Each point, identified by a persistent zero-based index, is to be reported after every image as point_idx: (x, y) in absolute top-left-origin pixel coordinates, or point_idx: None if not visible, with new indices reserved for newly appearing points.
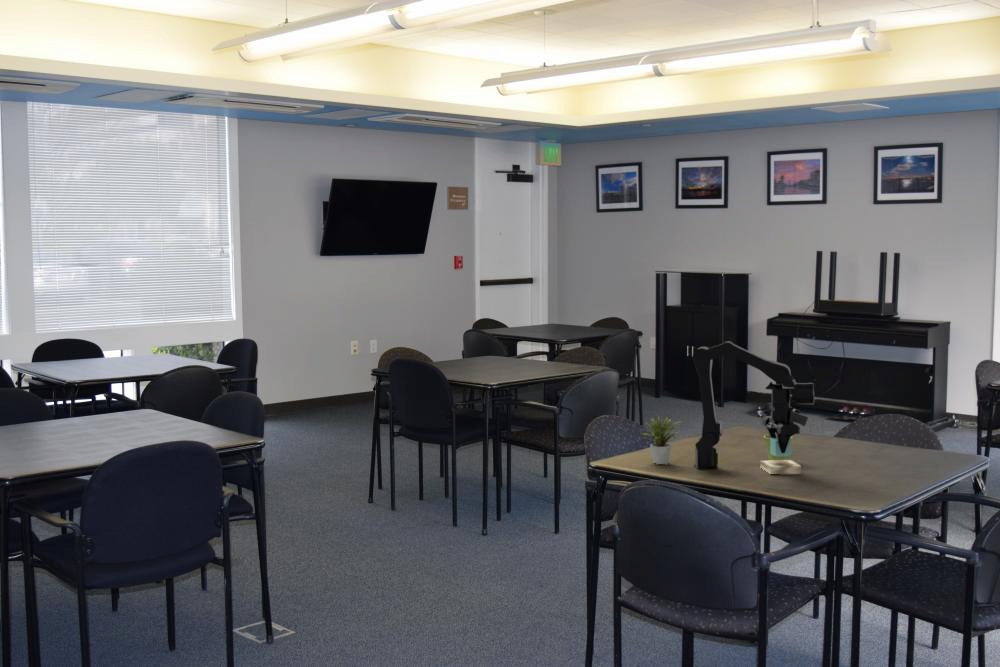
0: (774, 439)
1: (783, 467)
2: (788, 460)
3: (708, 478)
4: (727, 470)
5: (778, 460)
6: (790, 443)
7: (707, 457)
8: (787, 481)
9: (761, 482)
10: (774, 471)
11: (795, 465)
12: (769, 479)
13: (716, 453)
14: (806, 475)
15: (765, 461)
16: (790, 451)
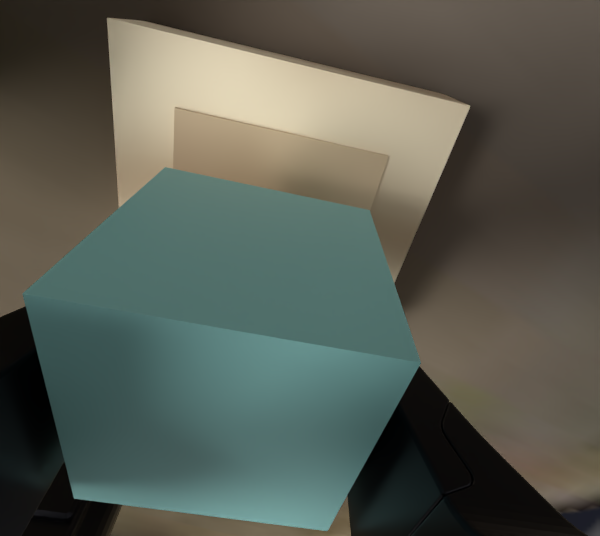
0: (215, 505)
1: (397, 269)
2: (148, 68)
3: None
4: None
5: (137, 176)
6: (400, 319)
7: (110, 531)
8: (563, 317)
9: (486, 421)
10: None
11: (412, 149)
12: (456, 369)
13: (69, 519)
14: (518, 83)
15: None
16: (376, 240)
